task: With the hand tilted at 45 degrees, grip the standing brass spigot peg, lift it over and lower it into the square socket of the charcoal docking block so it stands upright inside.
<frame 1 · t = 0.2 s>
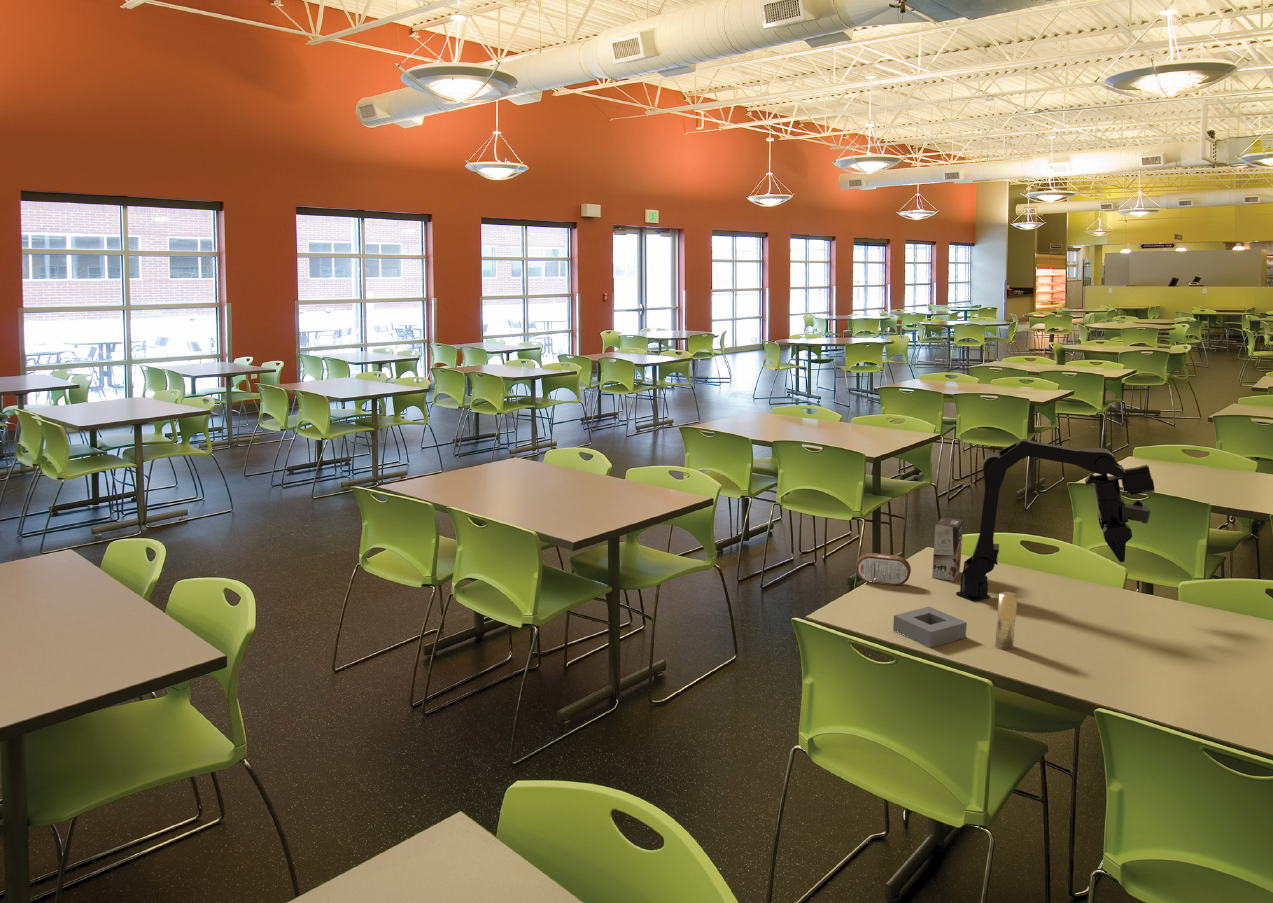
hand: (1120, 556, 234), 15 cm above the table, tool pointing down, fingers open, 9 cm apart
tin: (882, 583, 260), on the table
coffee box: (946, 575, 266), on the table
dock block: (928, 634, 224), on the table
spigot peg: (1004, 646, 217), on the table
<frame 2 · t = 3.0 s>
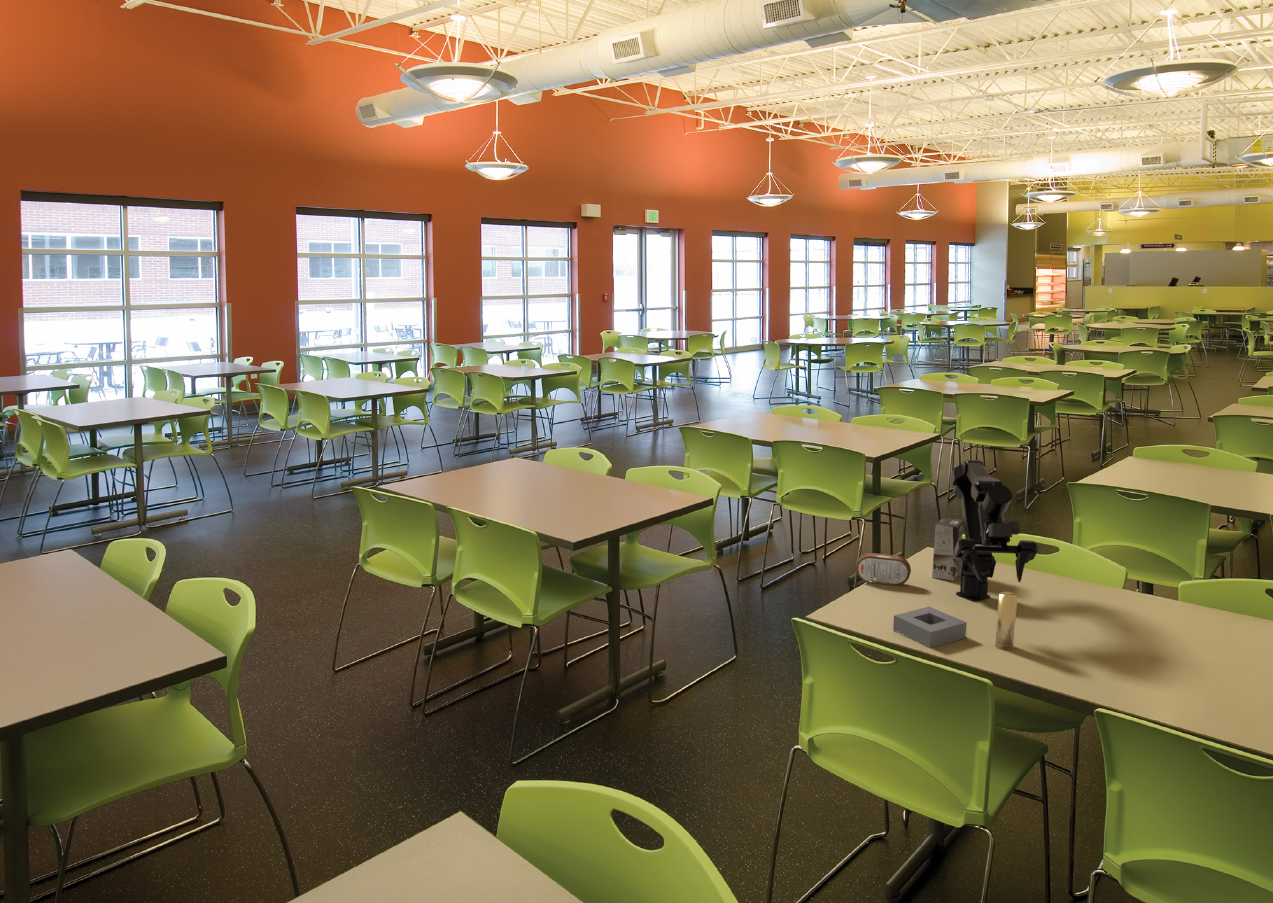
hand: (999, 580, 222), 14 cm above the table, tool tilted 45°, fingers open, 9 cm apart
nothing on the table moved.
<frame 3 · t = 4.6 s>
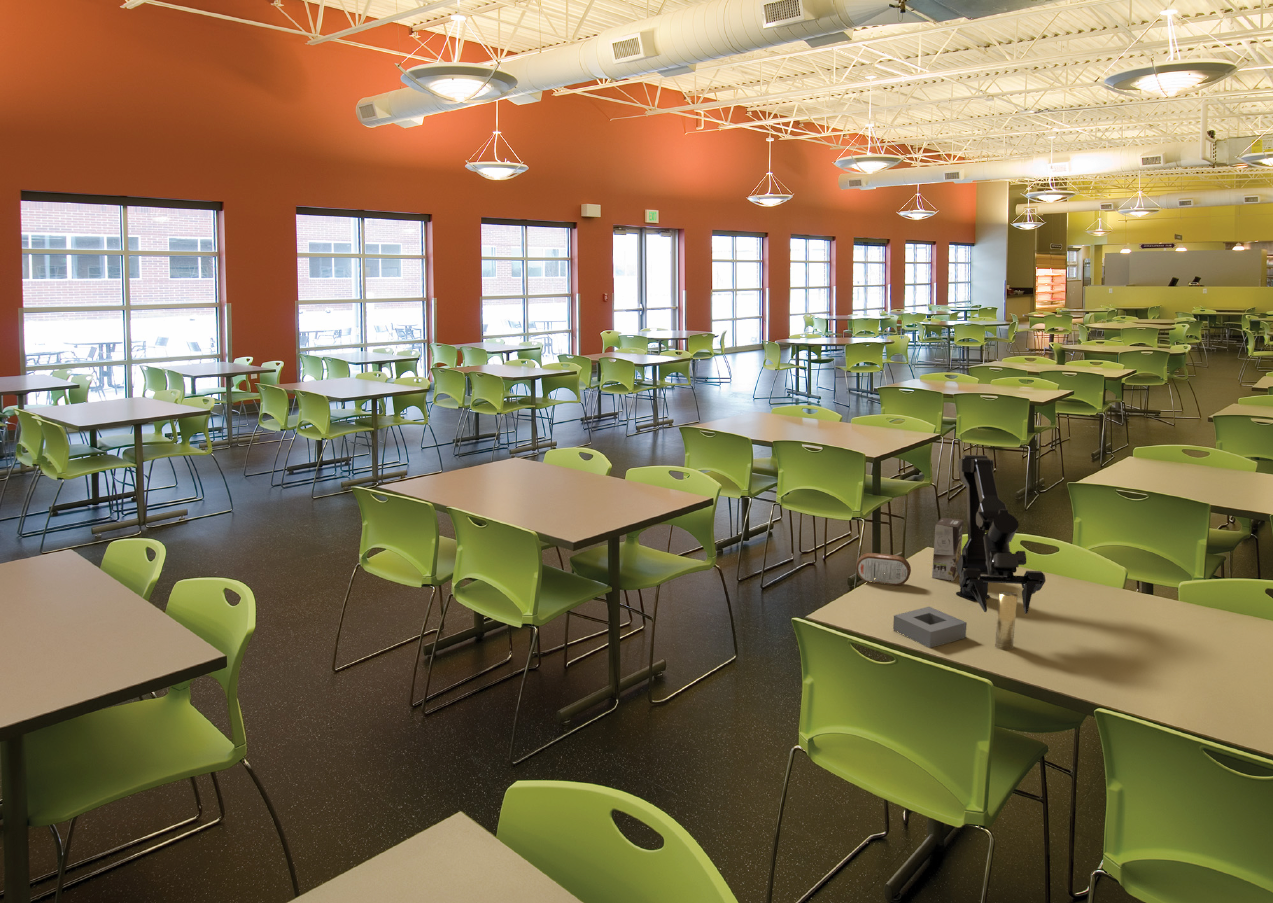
hand: (1006, 612, 216), 8 cm above the table, tool tilted 45°, fingers open, 9 cm apart
nothing on the table moved.
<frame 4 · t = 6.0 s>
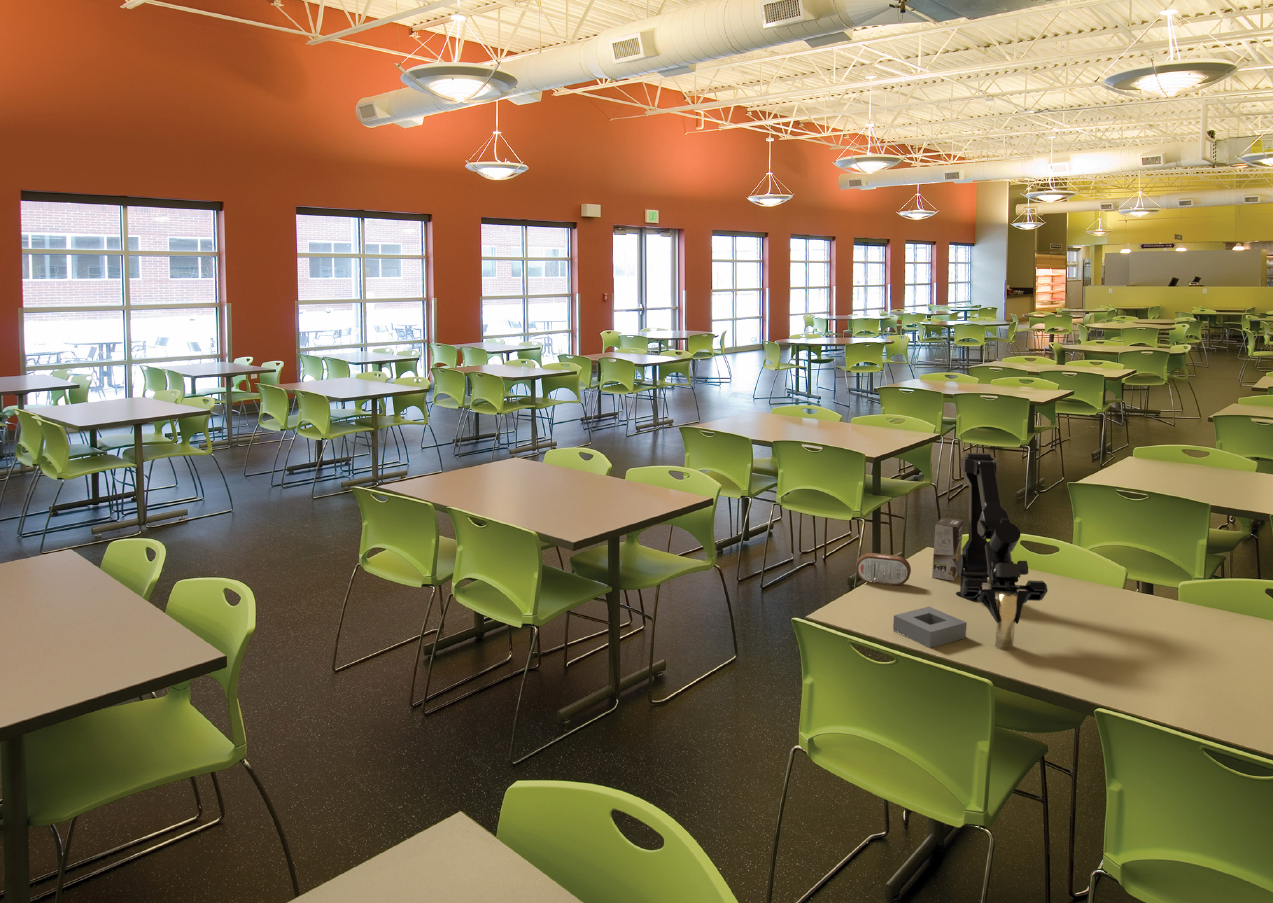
hand: (1007, 622, 214), 7 cm above the table, tool tilted 45°, fingers closed on spigot peg, 4 cm apart
spigot peg: (1004, 646, 217), on the table, touching gripper
everything else where it was.
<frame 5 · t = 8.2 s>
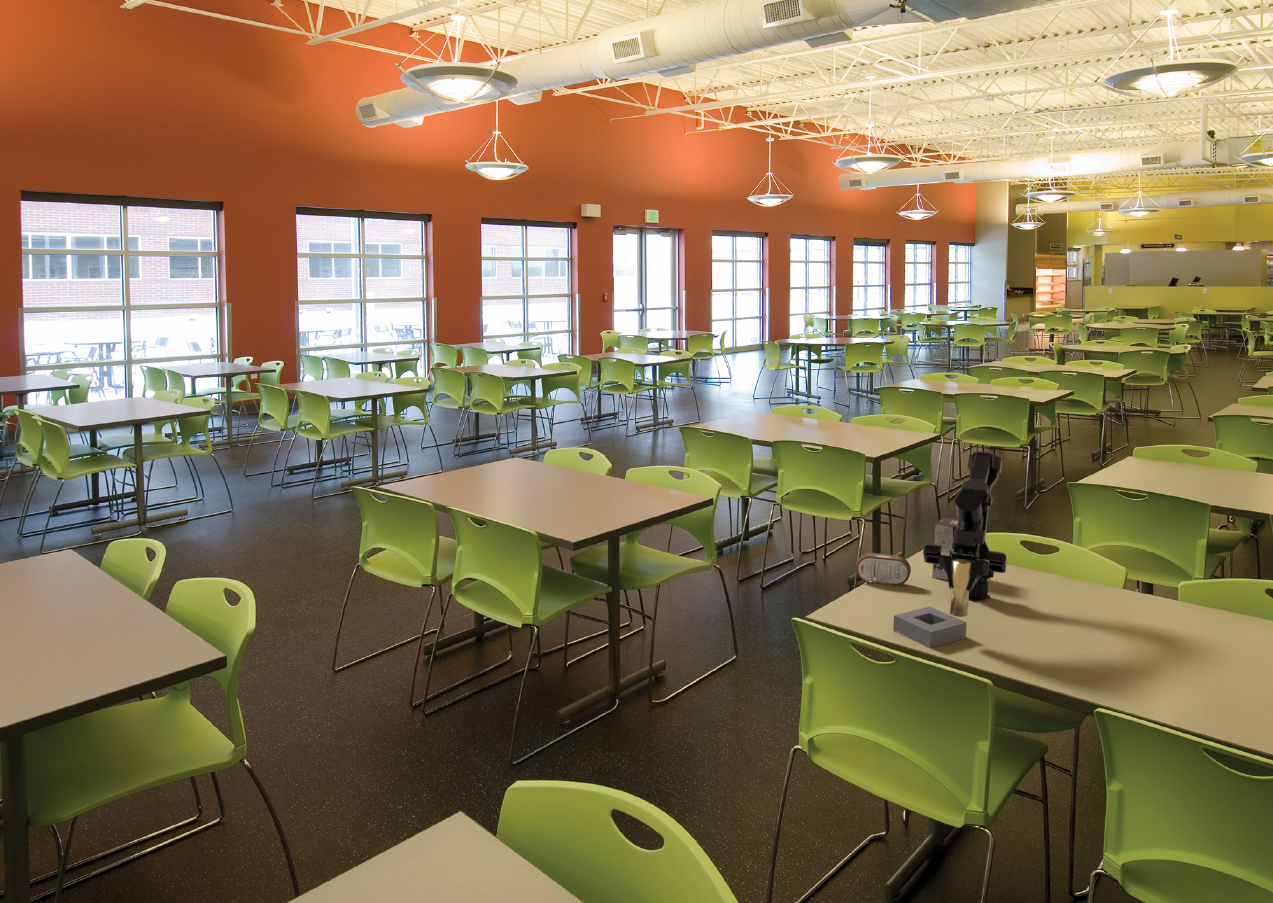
hand: (959, 589, 216), 13 cm above the table, tool tilted 45°, fingers closed on spigot peg, 4 cm apart
spigot peg: (958, 613, 219), point 7 cm above the table, touching gripper
everything else where it was.
when the fingers open (9 cm above the table, at t = 10.4 s): spigot peg drops 3 cm, resting in dock block.
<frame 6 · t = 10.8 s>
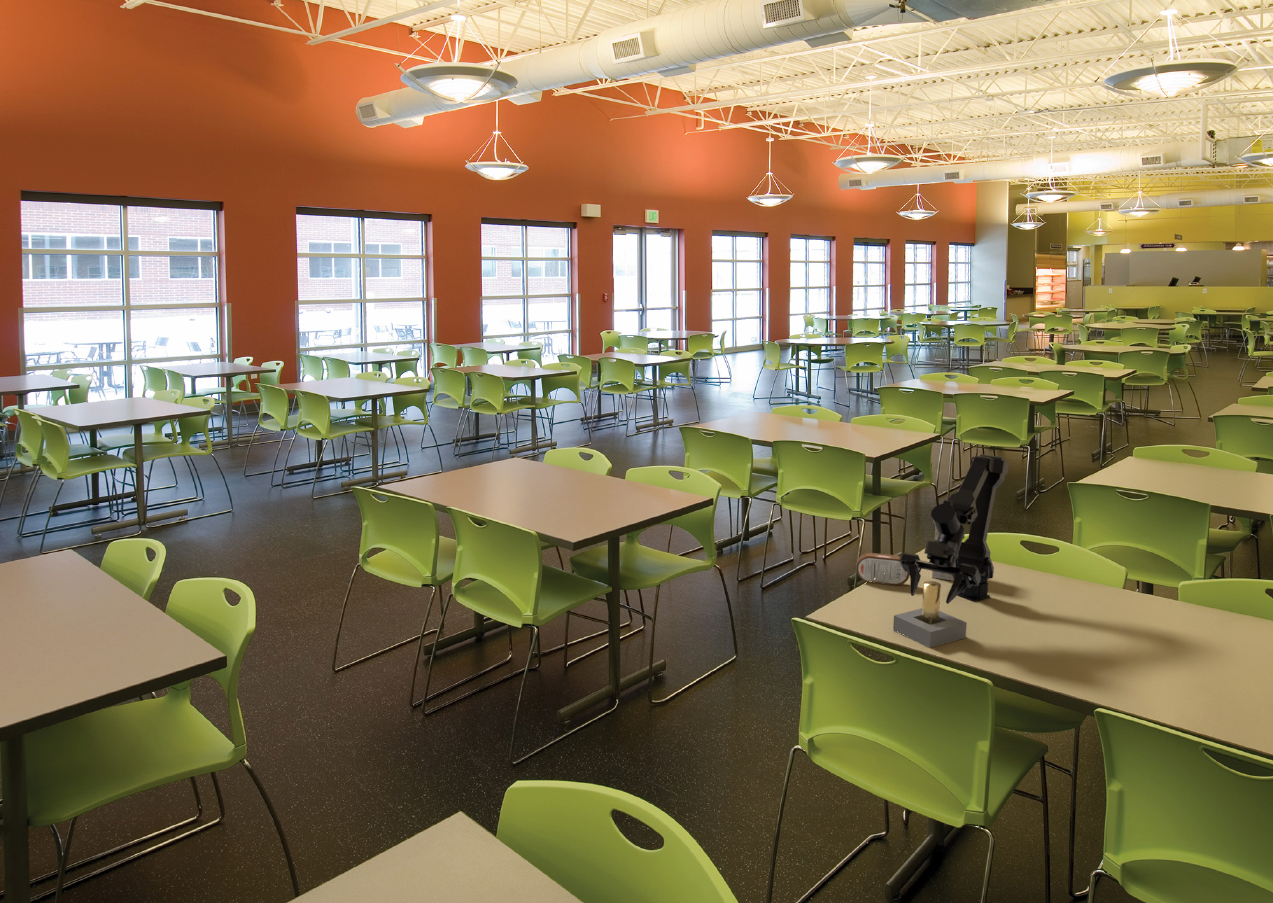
hand: (929, 598, 221), 10 cm above the table, tool tilted 45°, fingers open, 8 cm apart
spigot peg: (929, 634, 224), resting in dock block
everything else where it was.
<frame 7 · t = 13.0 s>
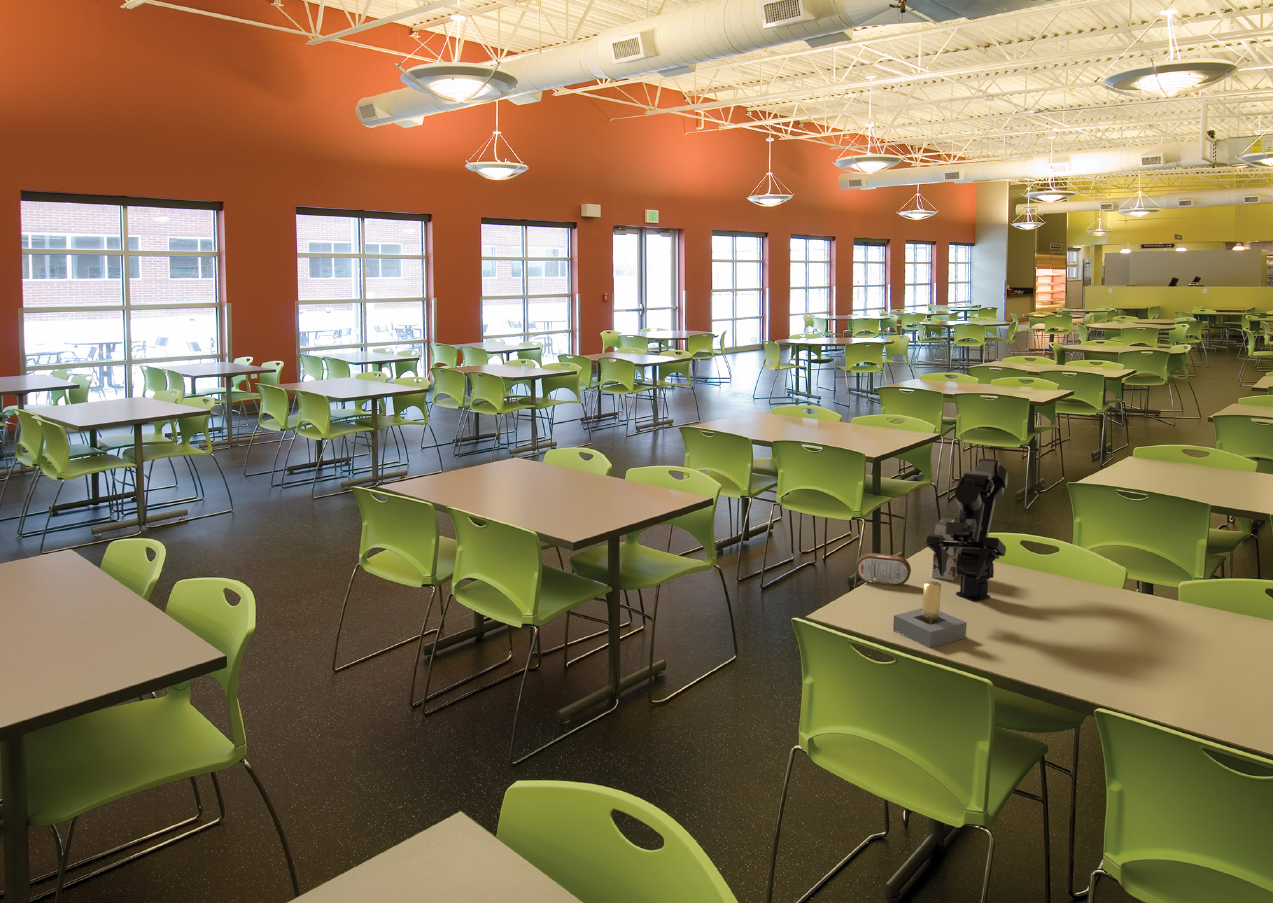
hand: (959, 576, 228), 13 cm above the table, tool tilted 35°, fingers open, 9 cm apart
nothing on the table moved.
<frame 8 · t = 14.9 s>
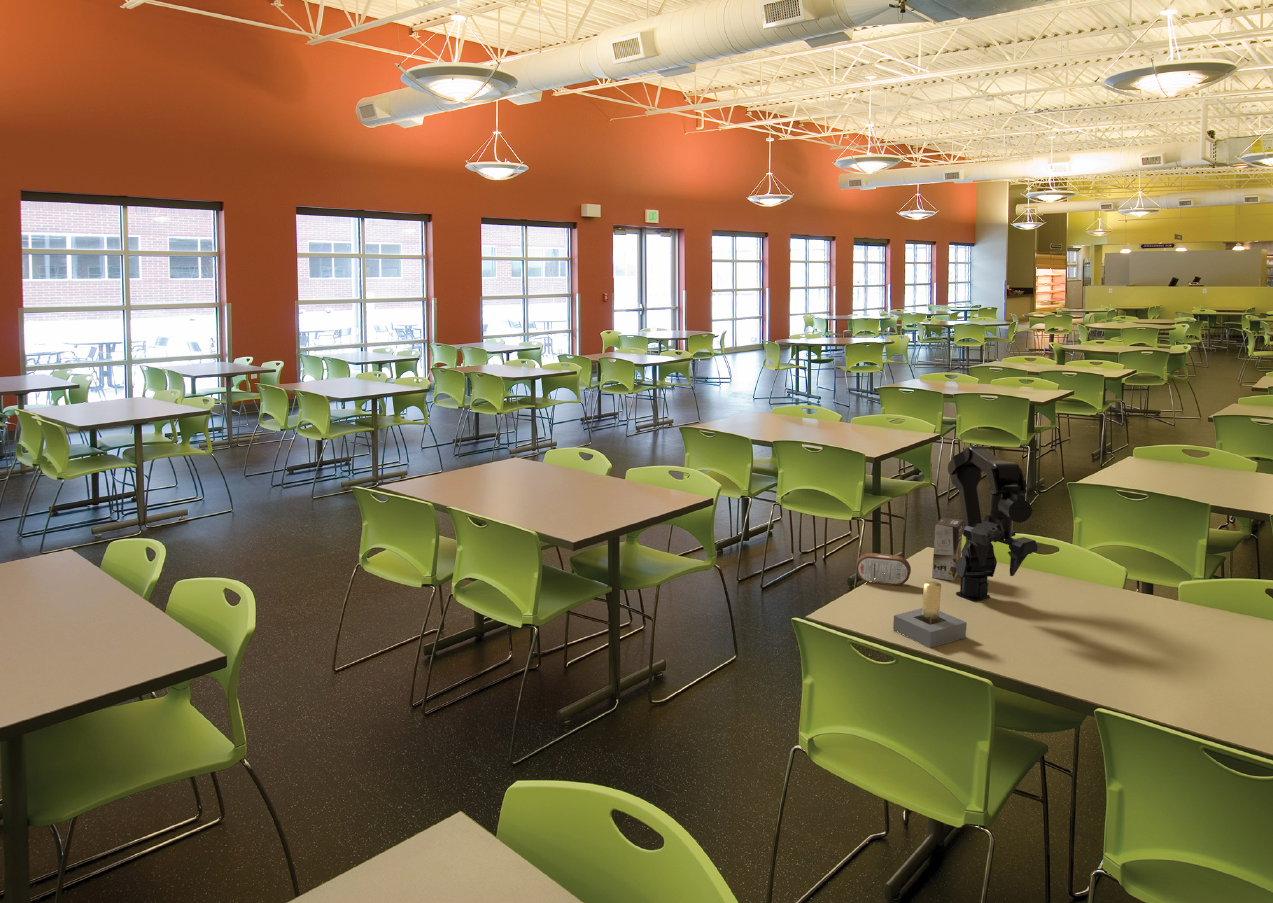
hand: (996, 570, 234), 12 cm above the table, tool pointing down, fingers open, 9 cm apart
nothing on the table moved.
at the end: spigot peg 0.1 cm off-centre on the dock block, point 0.0 cm above the dock block's base; spigot peg tilted 0°; the gripper is holding nothing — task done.
